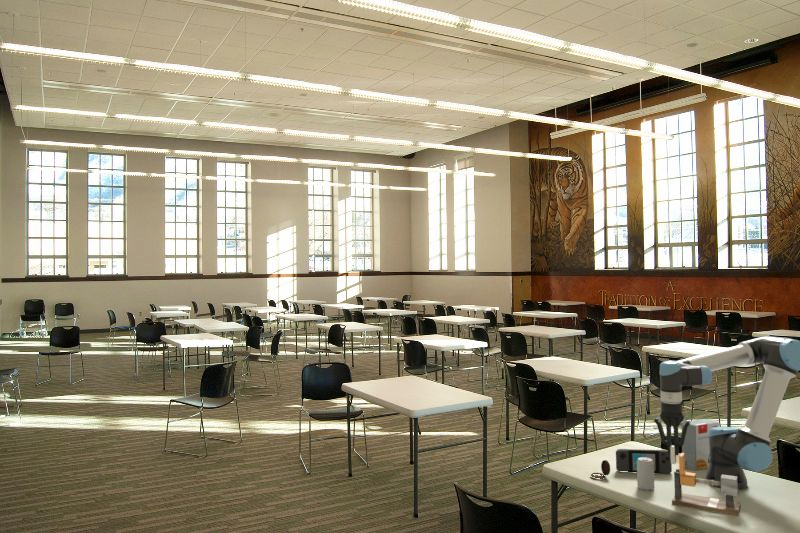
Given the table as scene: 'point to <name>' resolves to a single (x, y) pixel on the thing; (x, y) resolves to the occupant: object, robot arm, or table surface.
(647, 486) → the beverage can
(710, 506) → the cord board
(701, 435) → the hard drive box
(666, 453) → the handheld gaming console
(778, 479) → the table surface
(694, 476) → the orange l-shaped block
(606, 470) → the compass
